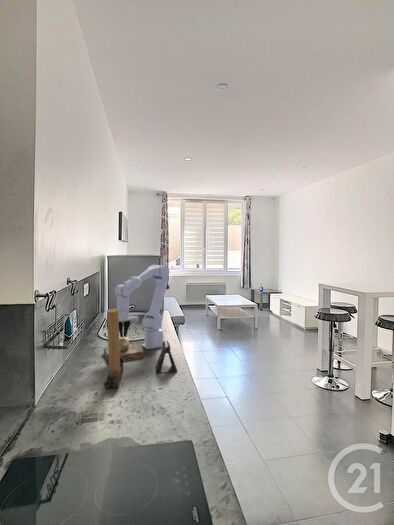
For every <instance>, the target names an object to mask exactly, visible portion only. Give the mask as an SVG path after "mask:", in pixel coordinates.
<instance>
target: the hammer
mask: <svg viewBox="0 0 394 525" xmlns="http://www.w3.org/2000/svg"><path fill="white" fill-rule="evenodd" d="M106 318H107V320H106V322H107V343H108V346H107V347H109V361H108V363H109V364H108V366H109V369H108V373H107V375H106V376H107V377H106V381H105V383H103V386H104V388H105V389H119V388H120V384H121V381H122V378H123V373H124V363H125V361H123V359H121V358H120V348H119V338H120V332H119V321H118V309H117V308H109V309H107V310H106Z"/></svg>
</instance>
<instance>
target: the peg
mask: <svg viewBox="0 0 394 525" xmlns="http://www.w3.org/2000/svg"><path fill="white" fill-rule="evenodd" d="M129 344H130V339H129V337H128V336H126V337H124V336H123V337H122V338H121V337H119V348H120V351H128V350H129Z"/></svg>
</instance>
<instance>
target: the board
mask: <svg viewBox="0 0 394 525" xmlns="http://www.w3.org/2000/svg"><path fill="white" fill-rule="evenodd" d="M144 352H145V351H144V349H143V350H142V348H141V347H140V346H139V345H138V344H137V343H136V342H135V343H134V342H133V343H129V350H128V351H120V358H121V359H123V361H124V362H125V361H130V360H131V361H132V360H138V359H142V358H144V354H145V353H144ZM103 355H104V356H105V358H106V359H107V361H108V362H109V346H107V347H106V346H105V347H103Z"/></svg>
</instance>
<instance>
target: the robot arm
mask: <svg viewBox="0 0 394 525" xmlns="http://www.w3.org/2000/svg"><path fill="white" fill-rule="evenodd" d="M169 274H170V270H169V267H168V266H167V265H166V264H165V265H164V264H163V265H161V264H160V265H159V264H151V265H150V266H148V267H147V269H145V270H144V271H143V272H141V274H139V275H138V276H131V277H129V279H128V280H126V281H123V282H122V284H118V285H117V286H115V289H114V291H113V293H114V295H115V298H116V309H118V321H119V338H122V337H127V336H128V335H127V334H128V330H129V328H130V326H131V324H132V323H131V322H138V321H139V316H138V315H136V316H130V296H131V295H132V293H133V291H135V290H136V289H138V288H139V287H140V286H141V285H142V282H144V281H146V280H147V279H149V278H152V279H154V280H155V282H156V285H155V290H154V293H153V297H152V300H151V303H150V307H149V310H148V311H147V312H146V313H145V315H144V317H143V318H142V320H141V326H142V328H143V330H144V343H142V345H141V346H142V347H144V348H145V349H146V350H151V349H157V348H158V349H159V348H162V347H163V346H162V343H163V342H164V331H163V330H162V329H161V327H162V319H163V317H162V316H161V314H160V312H161V308H162V304H163V300H164V297H165V294H166V290H167V286H168V281H169V279H168V278H169Z"/></svg>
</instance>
